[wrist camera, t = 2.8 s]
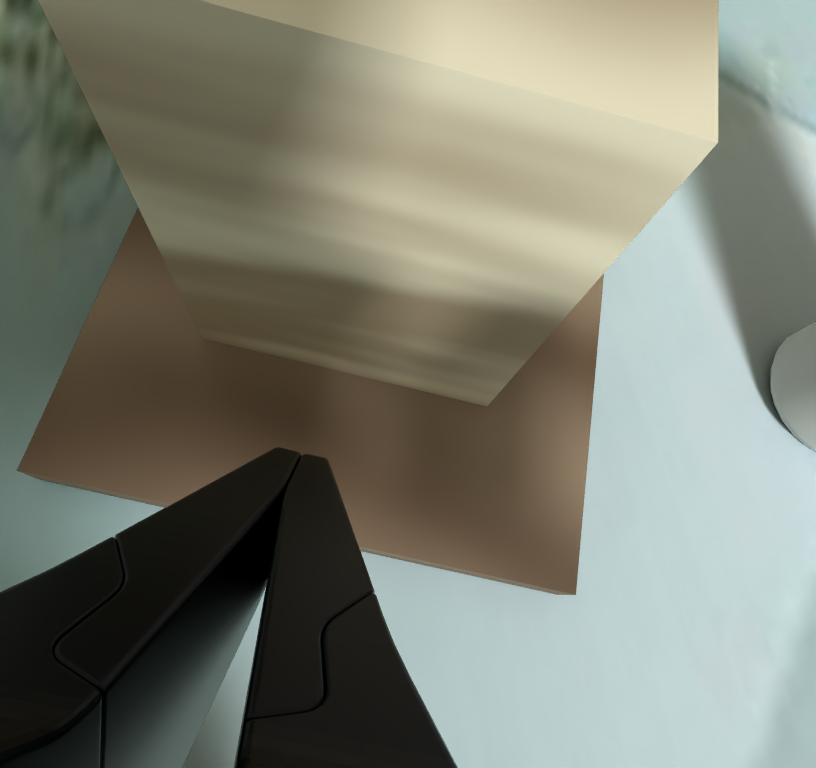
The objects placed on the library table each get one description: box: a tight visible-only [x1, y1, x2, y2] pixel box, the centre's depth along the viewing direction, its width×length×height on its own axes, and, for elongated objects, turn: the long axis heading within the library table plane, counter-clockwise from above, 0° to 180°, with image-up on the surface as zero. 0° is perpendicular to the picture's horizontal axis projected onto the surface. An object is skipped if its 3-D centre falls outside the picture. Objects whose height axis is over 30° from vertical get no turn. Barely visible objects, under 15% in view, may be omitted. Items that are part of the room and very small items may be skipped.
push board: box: [17, 208, 604, 595], centre depth 19 cm, size 25×14×1 cm, turn 168°
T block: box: [38, 0, 718, 406], centre depth 13 cm, size 10×8×10 cm
